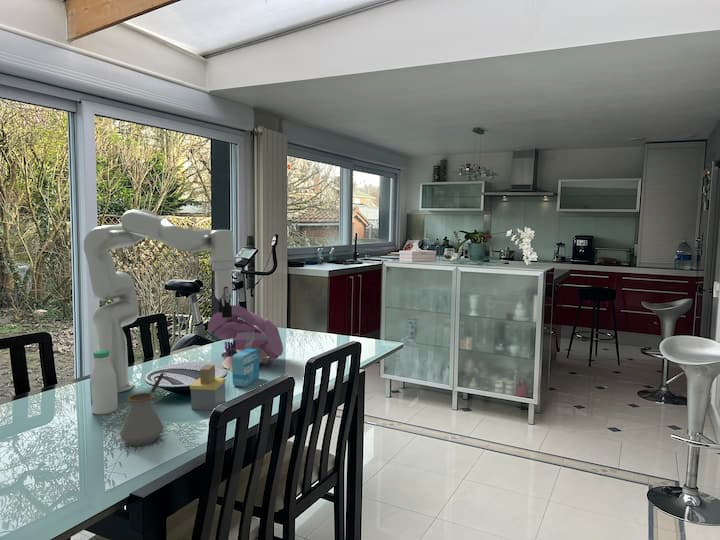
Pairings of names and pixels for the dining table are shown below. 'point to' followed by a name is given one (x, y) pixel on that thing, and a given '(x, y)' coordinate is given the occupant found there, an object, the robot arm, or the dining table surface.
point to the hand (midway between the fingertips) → (225, 314)
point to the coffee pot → (142, 419)
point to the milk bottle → (103, 384)
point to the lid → (207, 379)
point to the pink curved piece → (246, 335)
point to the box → (207, 398)
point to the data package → (245, 367)
